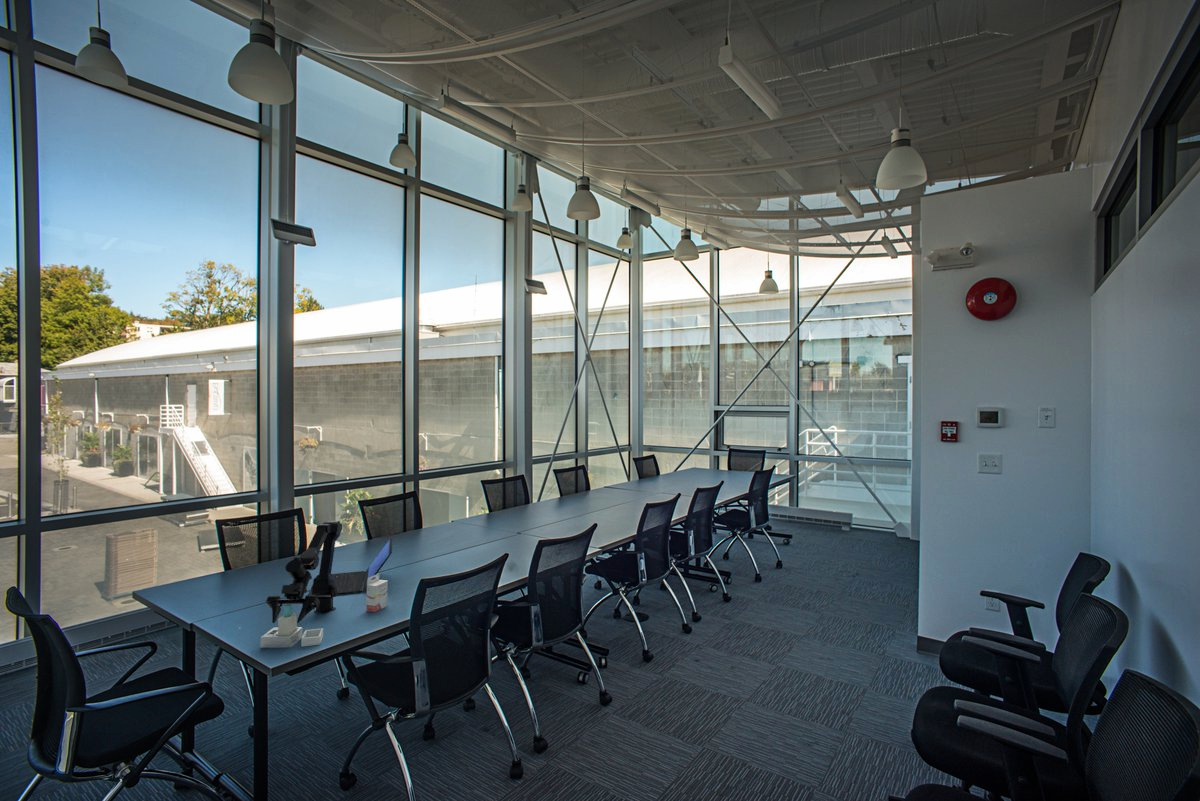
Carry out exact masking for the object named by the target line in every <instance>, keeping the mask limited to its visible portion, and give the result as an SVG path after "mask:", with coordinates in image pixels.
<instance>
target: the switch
mask: <svg viewBox="0 0 1200 801" xmlns="http://www.w3.org/2000/svg"><path fill="white" fill-rule="evenodd" d="M303 630H304V628H303V626H297V630H296V631H295V632H294V633H293V634H292V635H290V636H278V626H277V627H271V629H269V630H267V632H266V633H264V634H263V635H262V636H260V649H262V648H263V649H264V648H265V649H266V648H269V649H270V648H271V649H273V648H277V649H278V648H293V646H294V645H296V644H297V643H298V642H299V641H300V640H301V639H302V636H303V634H304V632H303Z"/></svg>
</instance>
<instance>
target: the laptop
mask: <svg viewBox="0 0 1200 801" xmlns="http://www.w3.org/2000/svg"><path fill="white" fill-rule="evenodd" d="M392 553H393V536H391V537H389V539H388V540H387V542H386V543H385V544H384V546H383V547H382V549H380V551H379V553H378V554H377V555H376V556H375V558H374V559H373V560H372V562H371V563H370V564H369V566H368V568H367V569H366V570H360V571H358V570H357V571H352V572H351V571H350V572H340V573H331V576H332V578H333V580H334V586H335V587H336V589H337V595H336V596H343V595H355V594H354V593H356V594H361V593H363V592H364V591H365V590H367V579H368V578H369V577H371V576H374V575H376V574H378V573H379V571H380V570H381V569H382V568H383V566H384V564H386V562H387V561H388V559H389V558H390V557H391V555H392ZM318 575H319V574H317V575H316V576H315V578H316V577H317V576H318ZM373 579H375V578H374V577H373V578H372V579H371V580H373ZM312 586H313V584H312ZM312 586H311V588H310V590H309V592H308V594H307V595H312Z"/></svg>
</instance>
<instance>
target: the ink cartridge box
mask: <svg viewBox="0 0 1200 801" xmlns="http://www.w3.org/2000/svg"><path fill="white" fill-rule="evenodd" d="M380 574H381V573H379V572H378V573H377V574H376V575H374V576H371V577H369V578H368V579H367V588H366V609H365V610H366V612H371V613H376V612H379V611H380V610H382V609H384V608H386V607H387V606H388V583H389V582H388V579H387V580H385V579H380ZM373 577H374V578H373ZM372 578H373V579H372ZM371 579H372V580H371Z"/></svg>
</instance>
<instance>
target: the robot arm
mask: <svg viewBox="0 0 1200 801" xmlns="http://www.w3.org/2000/svg"><path fill="white" fill-rule="evenodd" d="M315 528H316V529H315V532H314V534H313V537H312V538H311V541H310V542H309V545H308V547H307V549H306V550H305V551H303V552H301V553H300V555H299V556H295V557H293V559H292V560H290V561H288V563H286V565H285V570H286V573H287V574H288V575H289V576H290V578H291V579H293V580H292V583H290V584H283V585H282V587H281V591H280V594H281V595H283V597H284V598H281V596H280V595H268V596H267V598H266V600H265V603H266V604H267V605H268V606H269V608H270V609H271V611H272V614H271V615H272V617H271V618H272V624H275V623H276V621H277V620H278V619H279V616H280V613H281V611H282V606H283V605H288V604H291V605H300V604H301V605H302V607H301V610H300V612H299V614H298V616H297V624H300V622H302V621H303V619H304V618H305V617H306V616H307V615H308V614H310V612H312V610H313V613H317V614H328V613H330V612H332V611H334V610H336V607H334V598H336V597H337V596H338V595H337V589H336V587H335V586H334V580H333V578H332V576H331V574H332V570H333V569H332V567H333V561H334V554H335V546H336V542H337V540H338V539H339V537H340V536H341V533H342V531H343V523H341V522H340V520H326V521H325V520H324V521H323V523H318V524H317V525H316V527H315ZM321 549H322V552H321V557H320V558H319V553H320V551H321ZM319 564H320V565H319ZM318 566H319V573H318V574H317V575H318V576H317V575H316V576H317V577H316V576H315V577H314V578H312V574H311V572H310V571H314V570H316V569H317V568H318ZM312 579H313V580H312ZM310 580H312V582H313V583H312V585H313V586H311V587H312V595H308V594H307V595H305V594H306V593H307V591H308V589H307V588H308V584H309V582H310Z"/></svg>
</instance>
